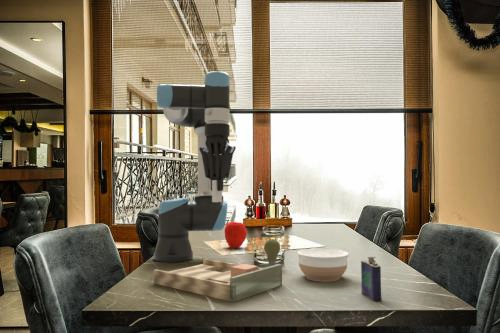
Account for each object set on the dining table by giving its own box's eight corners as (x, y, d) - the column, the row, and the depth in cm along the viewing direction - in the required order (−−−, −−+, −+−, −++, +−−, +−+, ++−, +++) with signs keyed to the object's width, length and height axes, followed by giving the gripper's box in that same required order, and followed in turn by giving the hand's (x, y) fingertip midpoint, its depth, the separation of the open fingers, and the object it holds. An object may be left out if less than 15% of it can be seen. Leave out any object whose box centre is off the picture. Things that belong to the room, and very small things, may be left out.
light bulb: (282, 266, 152) (281, 238, 152) (277, 269, 147) (277, 240, 147) (266, 265, 154) (266, 237, 154) (262, 268, 149) (262, 239, 149)
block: (230, 281, 121) (230, 266, 121) (243, 277, 125) (243, 263, 125) (245, 284, 117) (245, 269, 117) (258, 280, 121) (258, 266, 122)
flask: (359, 292, 118) (359, 253, 118) (369, 292, 118) (369, 253, 119) (373, 302, 109) (373, 260, 109) (384, 302, 109) (384, 259, 109)
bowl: (317, 286, 125) (317, 258, 125) (287, 275, 139) (287, 250, 140) (359, 280, 133) (359, 254, 133) (327, 270, 147) (327, 246, 147)
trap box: (153, 283, 128) (153, 263, 128) (205, 270, 146) (205, 252, 146) (233, 302, 109) (233, 278, 109) (281, 284, 126) (281, 264, 126)
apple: (250, 247, 195) (250, 220, 195) (238, 250, 186) (238, 222, 187) (232, 245, 200) (232, 219, 200) (220, 248, 192) (220, 220, 192)
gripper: (193, 124, 131) (192, 201, 131) (225, 120, 123) (224, 203, 122) (210, 126, 137) (209, 200, 136) (241, 123, 129) (241, 202, 128)
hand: (217, 201), depth 129 cm, fingers closed
